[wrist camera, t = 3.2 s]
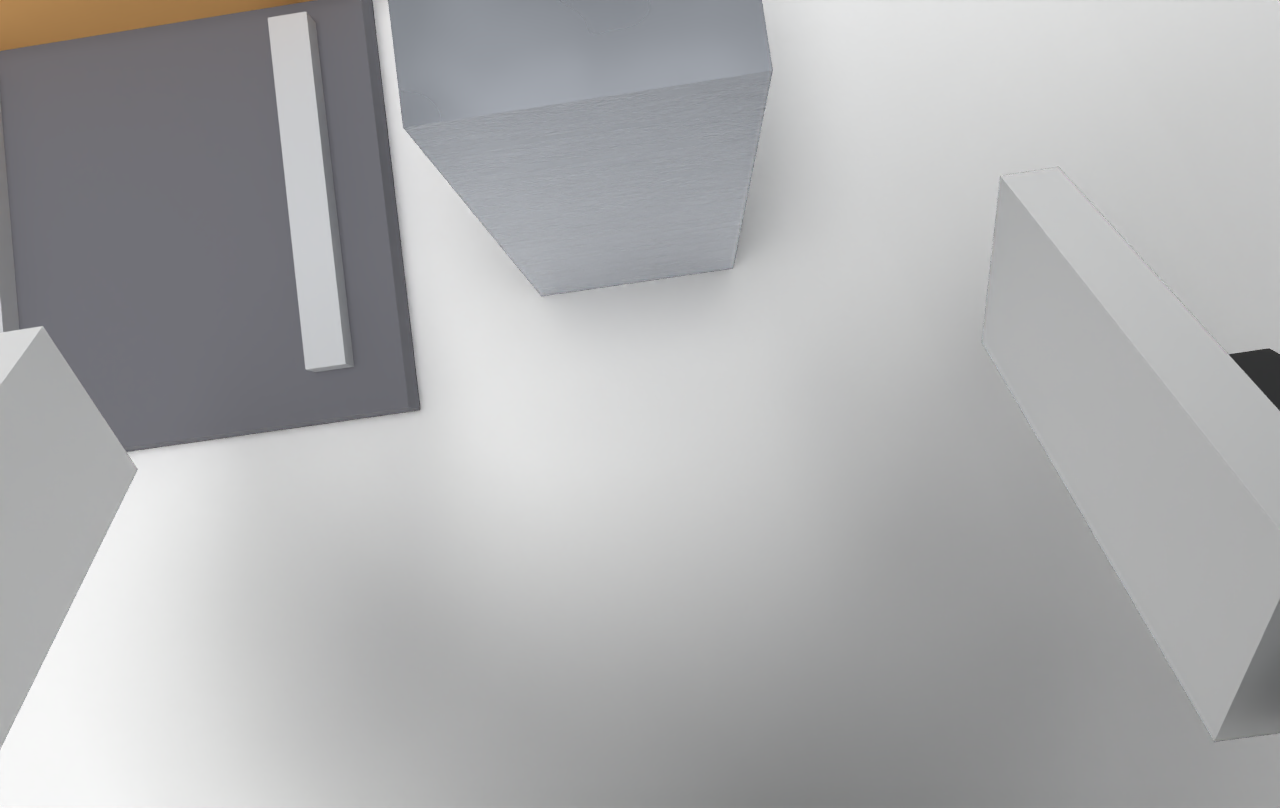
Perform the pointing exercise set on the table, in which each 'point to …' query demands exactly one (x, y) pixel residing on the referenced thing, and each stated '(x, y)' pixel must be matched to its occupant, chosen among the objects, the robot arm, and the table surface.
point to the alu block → (591, 127)
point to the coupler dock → (204, 212)
